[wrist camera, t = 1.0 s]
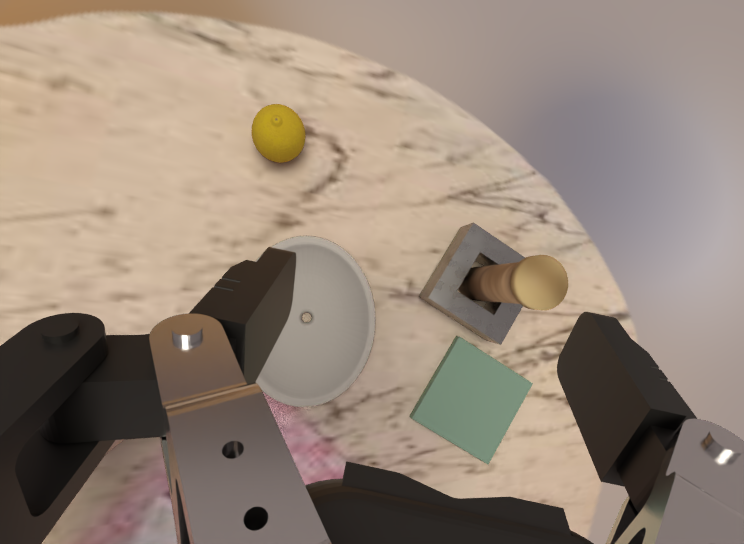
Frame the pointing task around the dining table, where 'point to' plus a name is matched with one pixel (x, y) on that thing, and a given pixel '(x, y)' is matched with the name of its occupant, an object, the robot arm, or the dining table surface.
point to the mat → (471, 400)
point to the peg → (519, 283)
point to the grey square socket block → (451, 273)
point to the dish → (321, 327)
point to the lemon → (278, 133)
